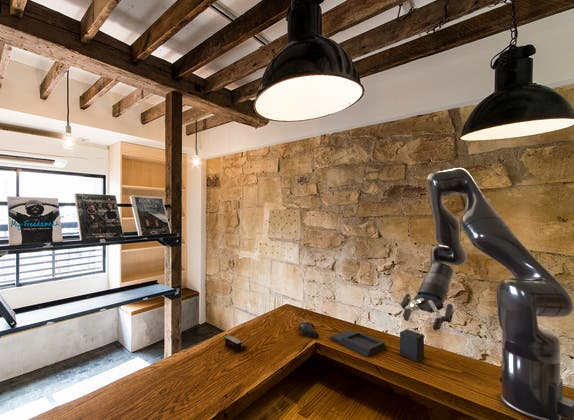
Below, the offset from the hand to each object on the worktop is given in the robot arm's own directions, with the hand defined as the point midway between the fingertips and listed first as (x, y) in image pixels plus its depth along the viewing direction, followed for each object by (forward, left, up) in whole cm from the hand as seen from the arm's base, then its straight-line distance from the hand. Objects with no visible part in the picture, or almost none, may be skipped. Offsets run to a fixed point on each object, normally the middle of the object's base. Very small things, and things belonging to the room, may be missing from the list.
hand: (419, 324), depth 93 cm
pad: (+14, +14, -10) cm, 22 cm away
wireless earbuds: (+33, +57, -10) cm, 66 cm away
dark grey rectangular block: (0, +6, -10) cm, 12 cm away
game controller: (+29, +23, -10) cm, 38 cm away
